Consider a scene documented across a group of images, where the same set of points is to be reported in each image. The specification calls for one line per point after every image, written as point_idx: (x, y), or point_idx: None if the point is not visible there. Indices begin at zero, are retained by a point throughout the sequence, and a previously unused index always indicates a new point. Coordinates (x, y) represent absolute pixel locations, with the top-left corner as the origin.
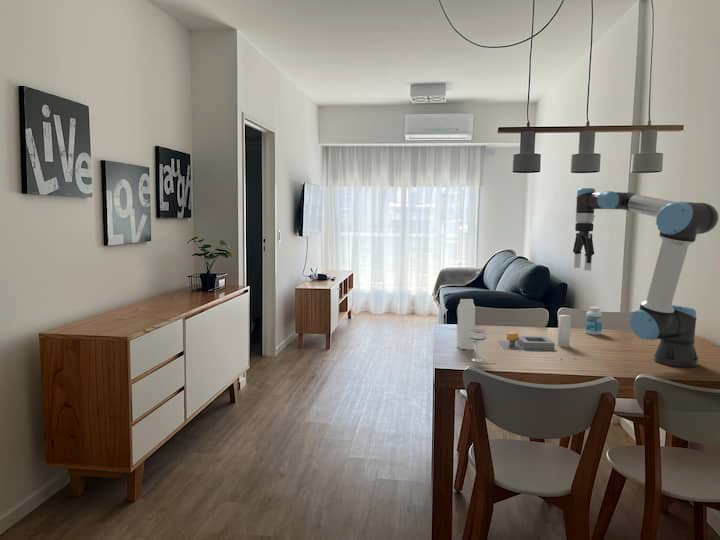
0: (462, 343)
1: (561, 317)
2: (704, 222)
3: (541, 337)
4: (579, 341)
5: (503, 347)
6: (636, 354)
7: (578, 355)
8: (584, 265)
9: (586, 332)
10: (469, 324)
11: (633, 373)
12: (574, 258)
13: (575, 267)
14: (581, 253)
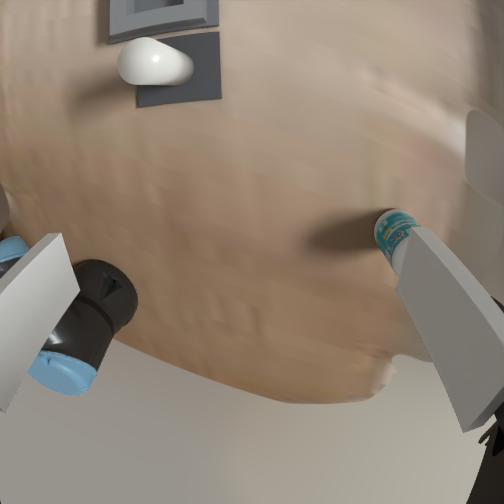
0: None
1: (126, 46)
2: None
3: (186, 2)
4: (281, 143)
5: None
6: (146, 246)
7: (100, 97)
8: (30, 261)
9: (393, 209)
10: None
11: (8, 185)
12: (491, 301)
13: (408, 239)
14: (481, 438)
